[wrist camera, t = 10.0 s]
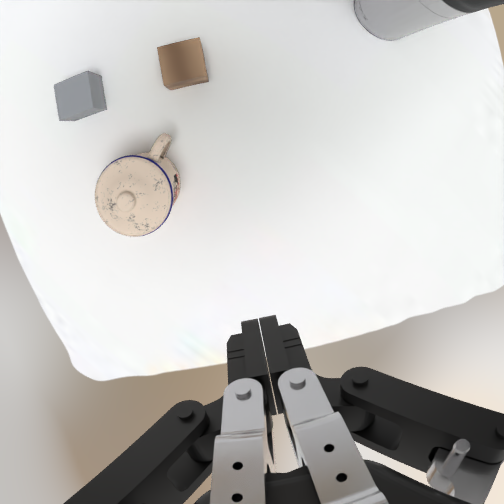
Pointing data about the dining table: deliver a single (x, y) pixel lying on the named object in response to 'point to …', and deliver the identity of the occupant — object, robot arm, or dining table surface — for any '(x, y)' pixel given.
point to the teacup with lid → (138, 190)
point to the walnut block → (182, 64)
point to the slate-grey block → (80, 96)
